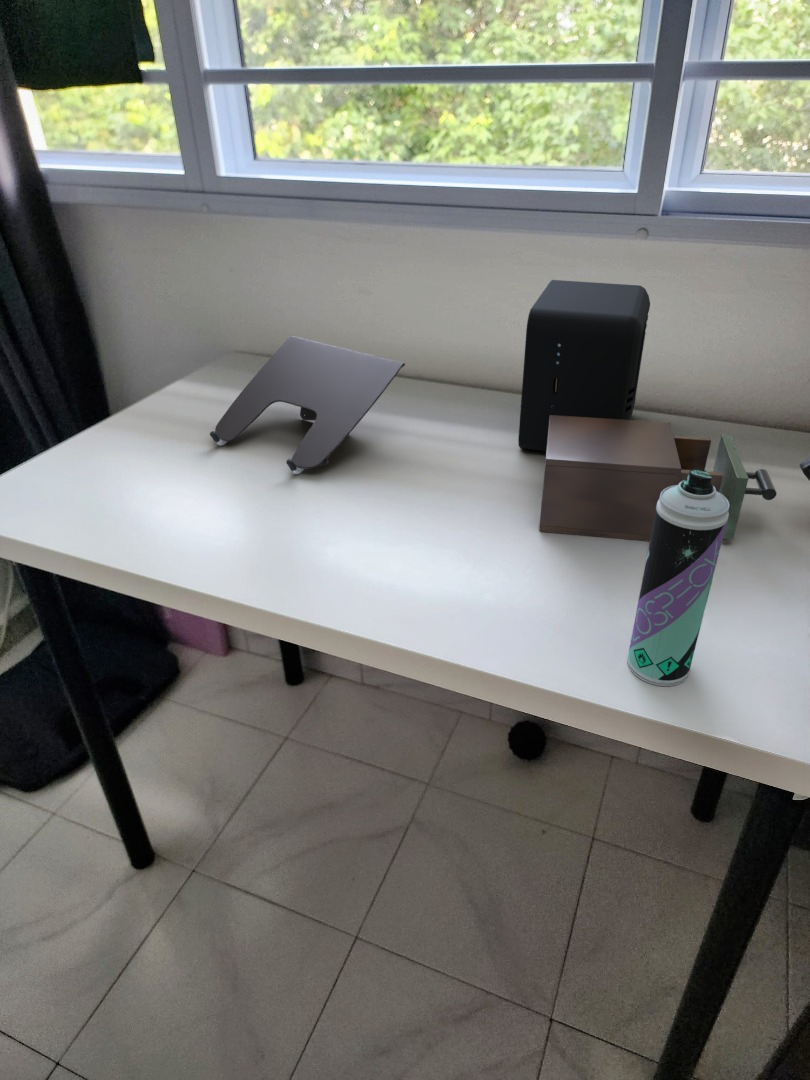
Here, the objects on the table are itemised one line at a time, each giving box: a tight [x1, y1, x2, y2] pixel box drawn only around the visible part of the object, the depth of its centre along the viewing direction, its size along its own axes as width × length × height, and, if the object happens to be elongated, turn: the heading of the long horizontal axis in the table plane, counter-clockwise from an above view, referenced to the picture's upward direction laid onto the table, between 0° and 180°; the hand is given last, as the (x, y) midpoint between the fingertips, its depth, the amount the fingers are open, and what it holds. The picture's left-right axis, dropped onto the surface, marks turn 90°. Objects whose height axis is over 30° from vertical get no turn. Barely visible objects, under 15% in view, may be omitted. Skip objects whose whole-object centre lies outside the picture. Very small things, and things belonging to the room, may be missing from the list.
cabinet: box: [538, 415, 681, 542], centre depth 90 cm, size 15×13×10 cm
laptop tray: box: [209, 335, 406, 475], centre depth 112 cm, size 23×23×9 cm
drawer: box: [673, 434, 777, 540], centre depth 89 cm, size 18×11×8 cm, turn 79°
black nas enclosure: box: [517, 279, 651, 452], centre depth 107 cm, size 20×15×20 cm
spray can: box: [626, 469, 730, 687], centre depth 64 cm, size 6×6×20 cm
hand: (805, 474), depth 85 cm, fingers closed
